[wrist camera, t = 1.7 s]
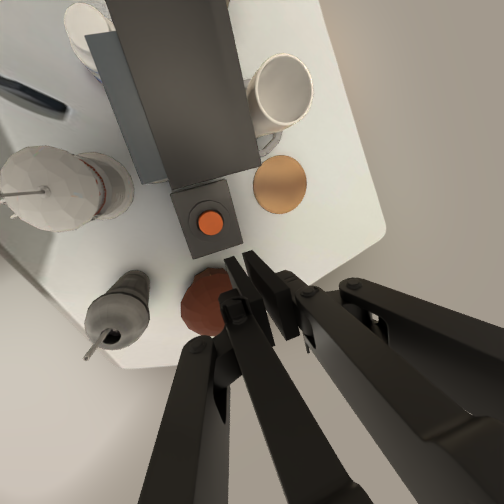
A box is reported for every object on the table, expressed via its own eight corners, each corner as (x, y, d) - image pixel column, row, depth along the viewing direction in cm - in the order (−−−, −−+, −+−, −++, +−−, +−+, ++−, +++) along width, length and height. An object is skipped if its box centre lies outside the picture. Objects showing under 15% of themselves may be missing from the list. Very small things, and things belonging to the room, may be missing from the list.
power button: (195, 214, 37) (195, 215, 36) (217, 207, 38) (219, 208, 36) (202, 235, 39) (203, 238, 37) (224, 229, 39) (225, 231, 38)
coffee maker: (128, 97, 34) (48, -26, 14) (272, 69, 38) (374, -59, 18) (162, 189, 39) (138, 198, 18) (287, 155, 42) (384, 133, 22)
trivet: (246, 163, 41) (247, 163, 40) (300, 149, 43) (301, 149, 42) (260, 220, 44) (261, 220, 44) (309, 204, 46) (310, 205, 45)
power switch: (170, 193, 39) (169, 195, 35) (223, 179, 41) (227, 179, 37) (192, 255, 43) (193, 262, 39) (240, 240, 44) (245, 245, 41)
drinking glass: (266, 147, 41) (309, 130, 27) (227, 142, 39) (251, 120, 25) (271, 102, 39) (319, 59, 25) (229, 94, 37) (257, 44, 24)
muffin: (237, 254, 45) (252, 273, 36) (248, 305, 49) (264, 334, 39) (172, 270, 43) (170, 296, 33) (189, 323, 46) (190, 359, 37)
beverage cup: (137, 309, 43) (102, 408, 24) (101, 284, 40) (31, 373, 22) (167, 281, 43) (155, 357, 24) (133, 253, 40) (90, 316, 22)
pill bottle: (116, 36, 32) (90, -21, 23) (144, 78, 34) (131, 41, 25) (81, 58, 32) (41, 10, 23) (111, 99, 34) (85, 70, 25)
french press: (145, 206, 39) (90, 246, 15) (71, 234, 37) (-117, 323, 14) (114, 142, 35) (-19, 70, 12) (30, 169, 33) (-312, 144, 10)
